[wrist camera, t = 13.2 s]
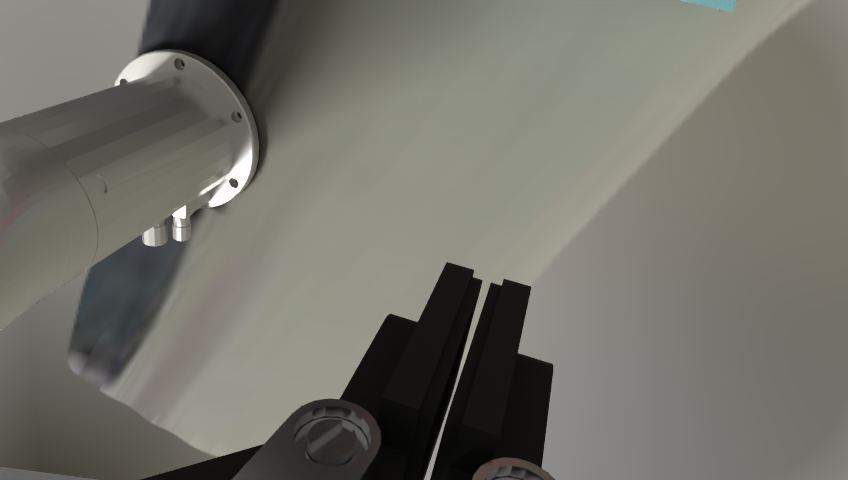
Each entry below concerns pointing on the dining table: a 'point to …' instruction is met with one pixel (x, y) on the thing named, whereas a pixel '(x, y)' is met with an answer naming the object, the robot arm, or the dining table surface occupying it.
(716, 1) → the drawer
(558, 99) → the dining table surface
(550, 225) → the dining table surface
